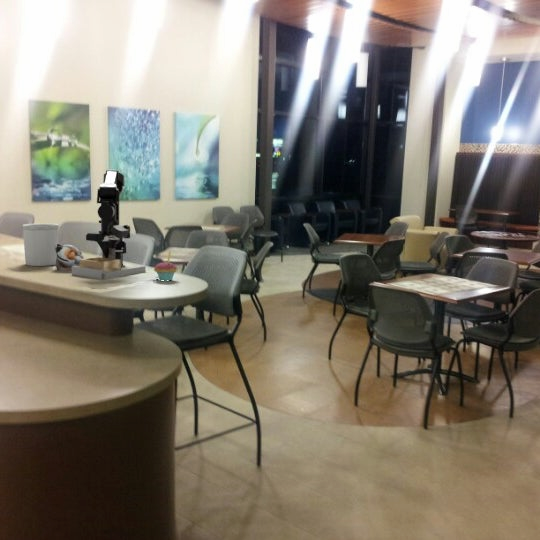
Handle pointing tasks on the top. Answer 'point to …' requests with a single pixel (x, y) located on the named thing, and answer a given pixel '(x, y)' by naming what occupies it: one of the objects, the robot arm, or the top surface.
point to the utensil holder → (40, 244)
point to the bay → (103, 274)
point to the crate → (102, 262)
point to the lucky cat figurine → (67, 256)
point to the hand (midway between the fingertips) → (108, 257)
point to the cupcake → (165, 270)
